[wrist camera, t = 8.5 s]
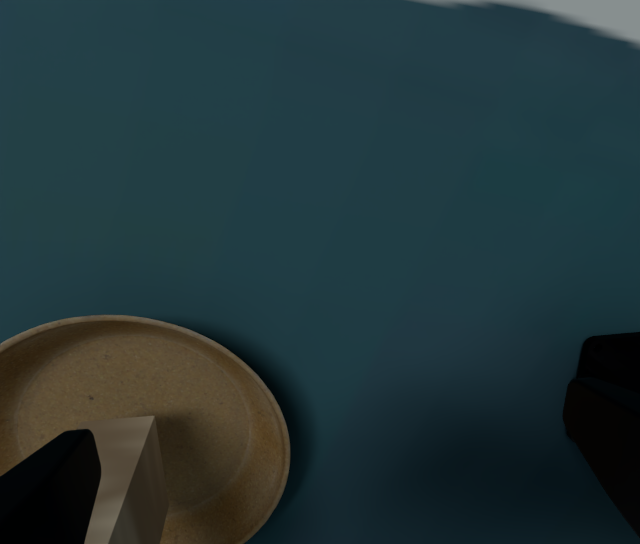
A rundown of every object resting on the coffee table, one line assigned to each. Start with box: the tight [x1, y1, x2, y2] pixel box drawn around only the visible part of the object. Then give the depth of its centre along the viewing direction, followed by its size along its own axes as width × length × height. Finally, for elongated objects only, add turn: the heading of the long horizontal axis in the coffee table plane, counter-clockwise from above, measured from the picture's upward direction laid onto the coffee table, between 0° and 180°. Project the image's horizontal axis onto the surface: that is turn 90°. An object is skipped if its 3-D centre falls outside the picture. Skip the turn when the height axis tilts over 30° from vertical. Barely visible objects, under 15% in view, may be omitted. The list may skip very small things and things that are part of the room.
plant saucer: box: [0, 315, 290, 544], centre depth 21 cm, size 15×15×3 cm
